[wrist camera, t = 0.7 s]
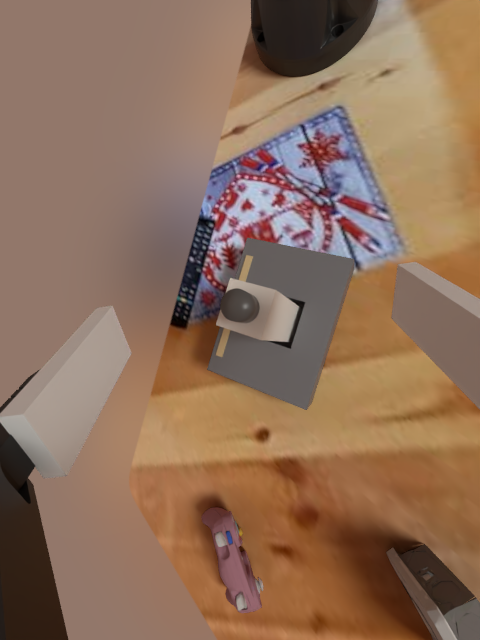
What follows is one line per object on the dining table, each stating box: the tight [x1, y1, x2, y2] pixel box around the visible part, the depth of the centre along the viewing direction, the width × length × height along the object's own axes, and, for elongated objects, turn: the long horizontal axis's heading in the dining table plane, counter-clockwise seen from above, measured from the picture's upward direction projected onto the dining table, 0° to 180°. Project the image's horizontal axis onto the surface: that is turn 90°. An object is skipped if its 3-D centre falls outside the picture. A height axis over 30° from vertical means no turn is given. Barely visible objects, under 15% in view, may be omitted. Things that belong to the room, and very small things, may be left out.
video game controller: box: [201, 507, 263, 613], centre depth 33 cm, size 10×5×7 cm, turn 23°
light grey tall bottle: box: [216, 278, 303, 342], centre depth 28 cm, size 4×4×15 cm
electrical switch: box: [386, 544, 480, 640], centre depth 24 cm, size 9×5×9 cm, turn 29°
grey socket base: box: [207, 238, 354, 410], centre depth 34 cm, size 16×12×4 cm
